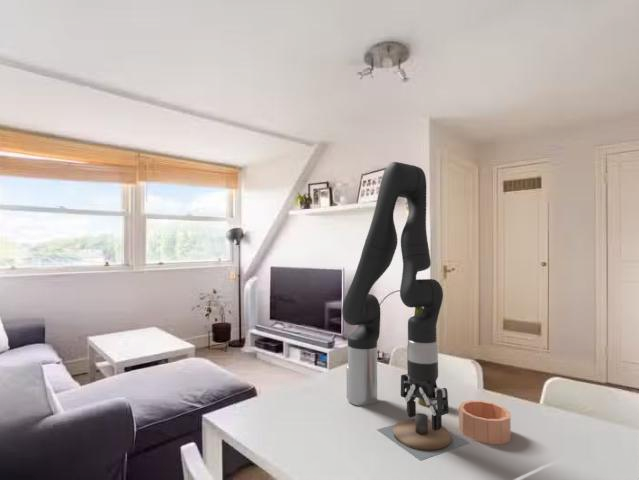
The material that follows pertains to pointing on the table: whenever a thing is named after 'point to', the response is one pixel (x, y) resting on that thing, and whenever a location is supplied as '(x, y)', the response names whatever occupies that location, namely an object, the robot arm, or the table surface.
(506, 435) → the bowl
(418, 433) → the lid
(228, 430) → the table surface
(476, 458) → the table surface
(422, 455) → the mat
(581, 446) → the table surface
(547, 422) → the table surface
